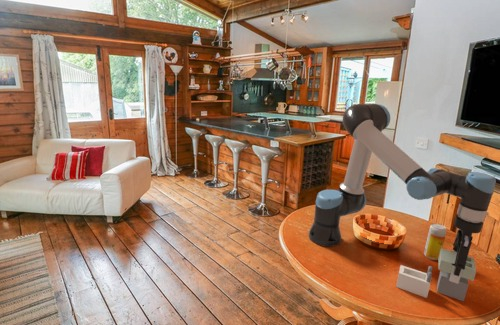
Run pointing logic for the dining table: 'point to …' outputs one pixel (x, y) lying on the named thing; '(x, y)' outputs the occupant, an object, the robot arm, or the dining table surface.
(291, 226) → the dining table surface
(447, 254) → the grey block
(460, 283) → the block
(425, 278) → the white open box
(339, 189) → the robot arm
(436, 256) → the yellow labelled bottle
